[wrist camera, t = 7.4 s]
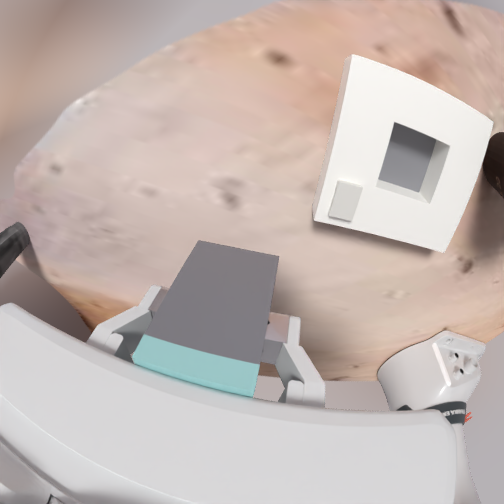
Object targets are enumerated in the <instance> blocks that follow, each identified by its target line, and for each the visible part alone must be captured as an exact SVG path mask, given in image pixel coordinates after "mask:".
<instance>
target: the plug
mask: <svg viewBox="0 0 504 504" xmlns="http://www.w3.org/2000/svg"><path fill="white" fill-rule="evenodd" d="M278 260H279V256H275V255H270V254H265V253H260V252H255V251H250V250H245V249H240V248H235V247H230V246H225V245H220V244H215V243H210V242H205V241H198V242H197V244H196V245H195V247H194V249H193V250H192V252H191V254H190V255H189V257H188V259H187V260H186V262H185V263H184V265H183V267H182V269H181V270H180V272H179V274H178V275H177V277H176V279H175V280H174V282H173V284H172V285H171V287H170V289H169V291H168V292H167V294H166V296H165V298H164V299H163V301H162V303H161V305H160V306H159V308H158V310H157V312H156V313H155V315H154V317H153V319H152V321H151V322H150V324H149V326H148V328H147V330H146V331H145V333H144V335H143V337H142V339H141V341H140V343H139V344H138V346H137V348H136V350H135V352H134V354H133V356H132V358H133V360H134V363H135V364H136V365H139V366H141V367H144V368H147V369H150V370H153V371H155V372H158V373H161V374H164V375H167V376H171V377H174V378H177V379H180V380H184V381H187V382H190V383H194V384H197V385H201V386H205V387H208V388H212V389H216V390H220V391H224V392H229V393H233V394H238V395H242V396H247V397H252V398H253V395H254V391H255V387H256V382H257V377H258V371H259V366H260V361H261V356H262V351H263V346H264V340H265V335H266V329H267V324H268V318H269V313H270V307H271V302H272V296H273V290H274V284H275V278H276V272H277V266H278Z"/></svg>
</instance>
